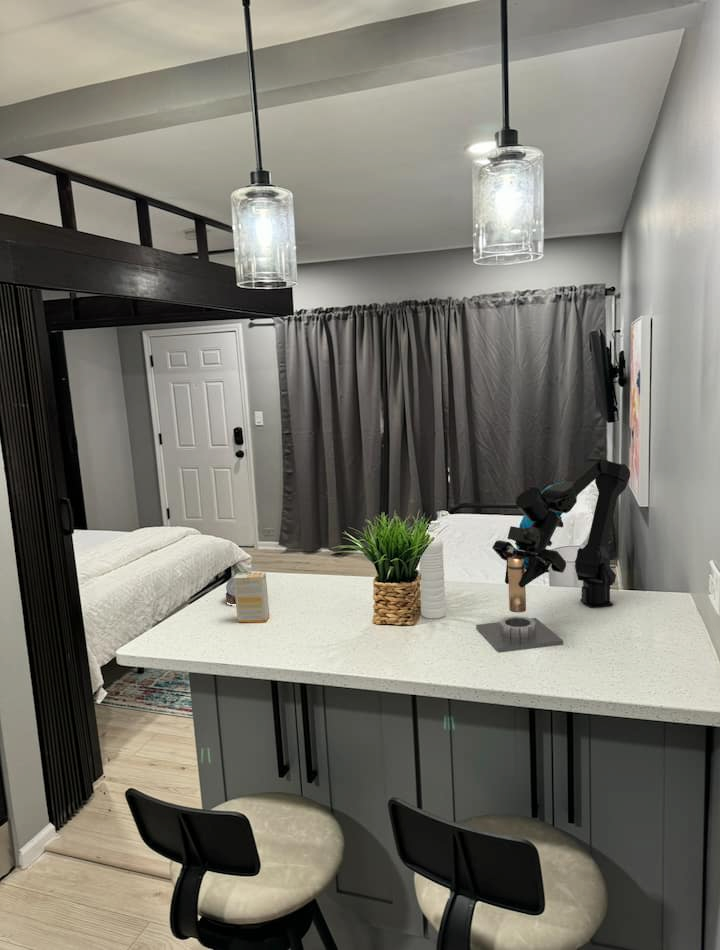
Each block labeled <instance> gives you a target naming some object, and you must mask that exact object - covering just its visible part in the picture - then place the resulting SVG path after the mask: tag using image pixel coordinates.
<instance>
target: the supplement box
mask: <svg viewBox="0 0 720 950" xmlns="http://www.w3.org/2000/svg"><path fill="white" fill-rule="evenodd" d="M237 573H238V574H237ZM237 573H236V574H237V575H236V576H235V577H234V578H233V579H234V589H235V599H236V607H235V608H236V618H237V623H238V622H247V623H266V622H267V621H268V620H269V618H270V617H269V616H270V606H269V596H268V595H269V593H268V586H267V585H268V584H267V574H266V573H267V572H266V571H259V572H258V571H257V572H252V573H239V572H237ZM267 619H268V620H267Z"/></svg>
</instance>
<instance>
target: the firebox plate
mask: <svg viewBox="0 0 720 950" xmlns="http://www.w3.org/2000/svg"><path fill="white" fill-rule="evenodd" d="M475 629H476V630H477V631H478V632H479V633H480V635H481V636H483V637H484V639H485V640H486V641H487V642H488V643H489V644H490V645H491V646H492V647H493V648H494V649H495V650H496V651H497V652H498V653H502V652H503V653H504V652H511V651H518V650H519V651H520V650H528V649H535V648H545V647H552V646H553V647H554V646H560V645H564V640H563V639H562V638H561V637H560V636H559V635H557V634H556V633H555V632H554V631H552V629H550V628H549V627H548V626H546V625H545V624H544V623H543V622H542V621H540V619H537V618H536V617H532V618H531V617H527V616H519V615H518V616H517V615H516V616H515V615H514V616H507V617H504V618H502V619H500V621H497V622H489V623H480V624H475Z"/></svg>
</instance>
